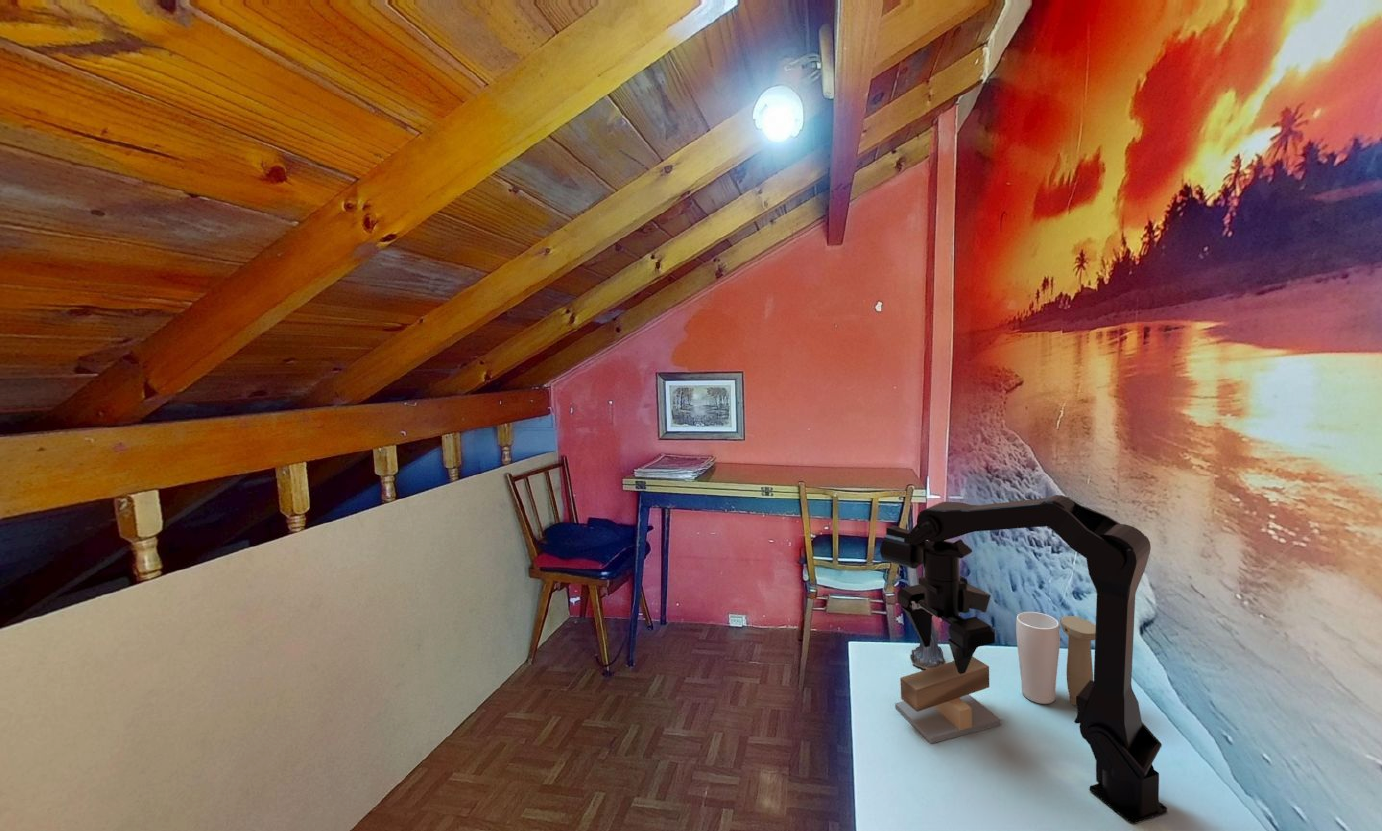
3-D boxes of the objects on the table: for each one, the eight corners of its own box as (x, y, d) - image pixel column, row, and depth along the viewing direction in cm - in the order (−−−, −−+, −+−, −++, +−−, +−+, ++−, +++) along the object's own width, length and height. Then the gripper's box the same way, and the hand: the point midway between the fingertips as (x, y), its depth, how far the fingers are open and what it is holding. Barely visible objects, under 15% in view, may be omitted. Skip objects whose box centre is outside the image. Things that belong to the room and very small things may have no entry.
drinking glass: (1058, 712, 99) (1058, 632, 97) (1014, 700, 103) (1013, 623, 101) (1061, 692, 104) (1061, 616, 103) (1019, 681, 108) (1018, 608, 107)
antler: (951, 671, 114) (948, 552, 111) (912, 673, 114) (908, 555, 111) (929, 641, 125) (925, 534, 122) (894, 643, 125) (889, 536, 123)
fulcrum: (1000, 724, 97) (1000, 700, 97) (930, 743, 94) (929, 718, 93) (960, 692, 107) (959, 669, 106) (895, 708, 104) (894, 685, 103)
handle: (1079, 691, 104) (1079, 614, 103) (1106, 713, 98) (1106, 632, 96) (1054, 693, 104) (1053, 617, 102) (1079, 715, 98) (1079, 634, 96)
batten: (989, 687, 100) (989, 666, 100) (917, 711, 95) (916, 689, 95) (971, 675, 104) (971, 655, 104) (901, 698, 99) (900, 677, 99)
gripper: (1023, 588, 90) (1024, 678, 92) (945, 550, 108) (947, 626, 110) (964, 600, 88) (966, 692, 89) (894, 559, 106) (897, 637, 108)
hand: (943, 659), depth 99 cm, fingers open, 9 cm apart
